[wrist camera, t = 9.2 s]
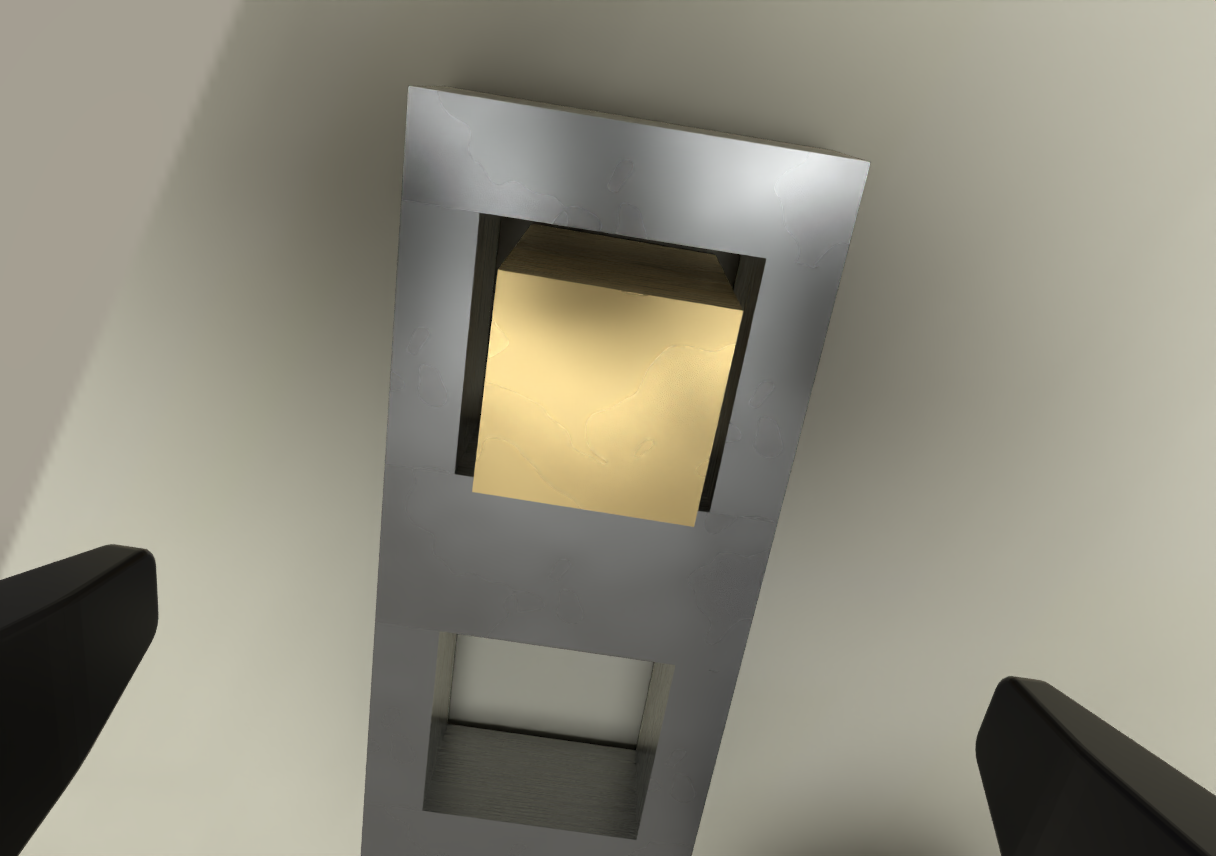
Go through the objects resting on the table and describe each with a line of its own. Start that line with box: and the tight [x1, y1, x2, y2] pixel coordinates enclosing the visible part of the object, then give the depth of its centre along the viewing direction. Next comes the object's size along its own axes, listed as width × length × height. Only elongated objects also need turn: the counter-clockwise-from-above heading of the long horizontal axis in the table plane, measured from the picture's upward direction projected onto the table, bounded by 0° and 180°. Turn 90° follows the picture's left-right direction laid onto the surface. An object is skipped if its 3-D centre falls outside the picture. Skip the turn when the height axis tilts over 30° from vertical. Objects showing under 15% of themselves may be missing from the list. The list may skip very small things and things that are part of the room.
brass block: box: [472, 224, 743, 527], centre depth 17 cm, size 4×4×5 cm
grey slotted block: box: [361, 86, 871, 856], centre depth 19 cm, size 8×18×3 cm, turn 171°
